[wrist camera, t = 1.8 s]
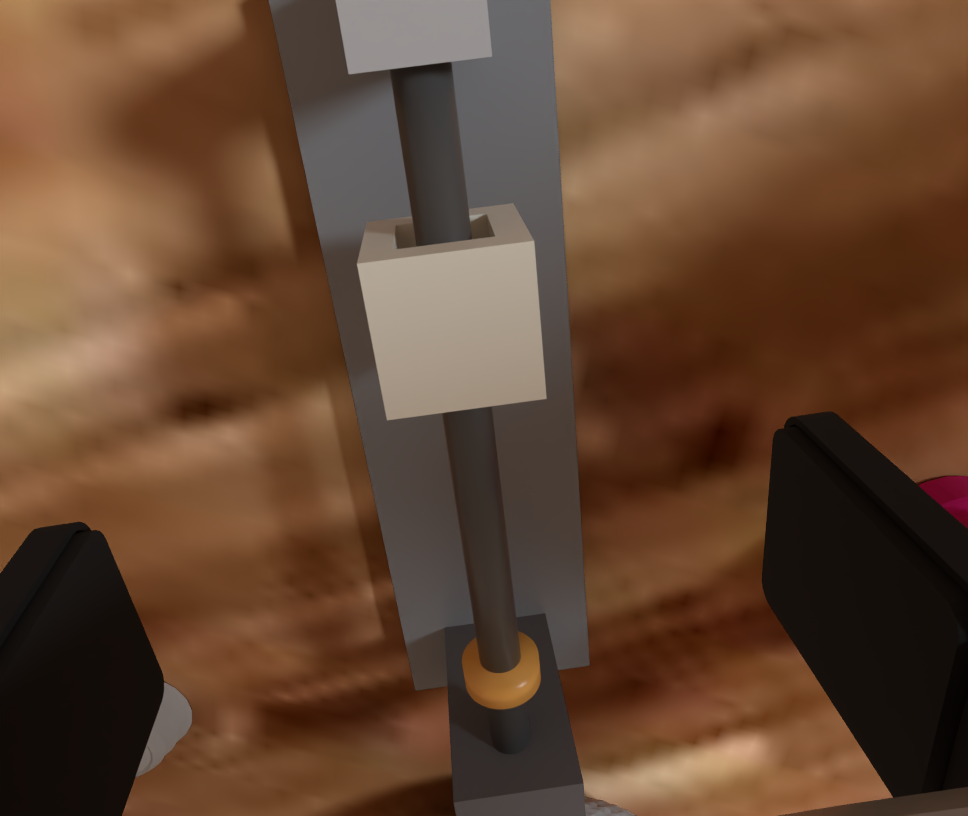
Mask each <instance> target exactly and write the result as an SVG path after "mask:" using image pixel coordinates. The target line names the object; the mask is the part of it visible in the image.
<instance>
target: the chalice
mask: <svg viewBox="0 0 968 816" xmlns="http://www.w3.org/2000/svg"><path fill="white" fill-rule="evenodd" d="M191 724H192V710H191V708H190V705H189V703H188V701H187V699H186V698H185V697H184V696H183V695H182V694H181V693H180V692H179V691H178V690H177V689H176V688H174V687H172V686H171V685H169V684H167V683H165V682H164V695H163V699H162V703H161V706H160V708H159V711H158V714H157V717H156V720H155V723H154V725H153V728H152V731H151V734H150V737H149V740H148V742H147V745H146V748H145V751H144V754H143V757H142V759H141V762H140V765H139V768H138V771H137V774H136V776H135V777H138V776H140V775H142V774H144V773H146V772H148V771H149V770H151V769H153V768H154V767H156V766H157V765H158V764H159V763H160V762H161V761H162V760H163V758H164V756H165V755H166V754H167V753H168V752H170V751H171V750H172V749H173V748H174V746H175V744H176V742H178V741H179V740H180V739H181V738H182V737H183V736H184V735H186V734H187V732H188V730H189V728H190V726H191Z"/></svg>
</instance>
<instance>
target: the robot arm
mask: <svg viewBox="0 0 968 816" xmlns="http://www.w3.org/2000/svg"><path fill="white" fill-rule="evenodd" d="M762 585H763V590H764V594H765V597H766V600H767V602H768V604H769V605H770V607H771V609H772V610H773V612H774V613H775V615H776V616H777V618H778V619H779V621H780V623H781V624H782V626H783V627H784V629H785V630H786V632H787V633H788V635H789V637H790V638H791V640H792V641H793V643H794V644H795V646H796V647H797V649H798V650H799V652H800V654H801V655H802V657H803V658H804V660H805V661H806V663H807V664H808V666H809V667H810V669H811V671H812V672H813V674H814V675H815V677H816V678H817V680H818V681H819V683H820V685H821V686H822V688H823V689H824V691H825V692H826V694H827V695H828V697H829V698H830V700H831V702H832V703H833V705H834V706H835V708H836V709H837V711H838V712H839V714H840V716H841V717H842V719H843V720H844V722H845V723H846V725H847V726H848V728H849V729H850V731H851V733H852V734H853V736H854V737H855V739H856V740H857V742H858V743H859V745H860V747H861V748H862V750H863V751H864V753H865V754H866V756H867V757H868V759H869V760H870V762H871V764H872V765H873V767H874V768H875V770H876V771H877V773H878V774H879V776H880V778H881V779H882V781H883V782H884V784H885V785H886V787H887V788H888V790H889V791H890V793H891V795H892V796H893V798H888V799H881V800H874V801H867V802H861V803H854V804H847V805H840V806H834V807H828V808H822V809H815V810H809V811H803V812H797V813H791V814H785V815H779V816H968V529H967V528H966V527H965V526H964V525H963V524H962V523H960V522H959V521H958V520H957V519H956V518H955V517H954V516H952V515H951V514H950V513H949V512H948V511H947V510H946V509H944V508H943V507H942V506H941V505H940V504H939V503H938V502H936V501H935V500H934V499H933V498H932V497H931V496H930V495H928V494H927V493H926V492H925V491H924V490H923V489H922V488H920V487H919V486H918V485H917V484H916V483H915V482H914V481H912V480H911V479H910V478H909V477H908V476H907V475H906V474H904V473H903V472H902V471H901V470H900V469H899V468H898V467H896V466H895V465H894V464H893V463H892V462H891V461H890V460H888V459H887V458H886V457H885V456H884V455H883V454H882V453H880V452H879V451H878V450H877V449H876V448H875V447H874V446H872V445H871V444H870V443H869V442H868V441H867V440H866V439H864V438H863V437H862V436H861V435H860V434H859V433H858V432H856V431H855V430H854V429H853V428H852V427H851V426H850V425H848V424H847V423H846V422H845V421H844V420H843V419H842V418H840V417H839V416H838V415H837V414H835V413H834V412H822V413H815V414H808V415H802V416H795V417H790V418H789V419H788V420H787V421H786V423H785V425H784V428H783V429H778V430H777V431H776V432H775V434H774V437H773V445H772V458H771V470H770V483H769V496H768V508H767V521H766V533H765V546H764V559H763V571H762ZM163 695H164V678H163V674H162V670H161V668H160V666H159V663H158V661H157V659H156V656H155V654H154V652H153V649H152V647H151V644H150V642H149V640H148V637H147V635H146V633H145V630H144V628H143V626H142V623H141V621H140V618H139V616H138V614H137V611H136V609H135V607H134V604H133V602H132V600H131V597H130V595H129V593H128V590H127V588H126V585H125V583H124V581H123V578H122V576H121V574H120V571H119V569H118V567H117V564H116V562H115V559H114V557H113V555H112V552H111V550H110V548H109V545H108V543H107V541H106V539H105V537H104V535H103V534H102V533H101V532H100V531H97V530H94V531H91V530H90V528H89V527H88V526H87V525H86V524H85V523H82V522H75V523H68V524H62V525H55V526H48V527H41V528H37V529H34V530H33V531H32V532H31V533H30V534H29V535H28V537H27V538H26V539H25V541H24V542H23V543H22V545H21V546H20V547H19V549H18V550H17V552H16V553H15V554H14V556H13V557H12V558H11V560H10V561H9V562H8V564H7V565H6V567H5V568H4V569H3V571H2V572H1V573H0V816H122V813H123V810H124V808H125V805H126V802H127V799H128V796H129V793H130V791H131V788H132V785H133V782H134V779H135V776H136V774H137V771H138V768H139V765H140V762H141V759H142V757H143V754H144V751H145V748H146V745H147V742H148V740H149V737H150V734H151V731H152V728H153V725H154V723H155V720H156V717H157V714H158V711H159V708H160V706H161V703H162V699H163Z"/></svg>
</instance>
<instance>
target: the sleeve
mask: <svg viewBox="0 0 968 816" xmlns="http://www.w3.org/2000/svg"><path fill="white" fill-rule="evenodd" d="M469 216H470V225H471V233H472V240H464V241H456V242H449V243H441V244H433V245H425V246H418V247H417V246H416V240H415V233H414V227H413V220H412V216H410V217H402V218H394V219H387V220H379V221H371V222H367V223H366V228H365V232H364V236H363V240H362V244H361V249H360V253H359V257H358V261H357V267H358V272H359V278H360V283H361V288H362V293H363V298H364V304H365V309H366V314H367V319H368V324H369V330H370V335H371V340H372V345H373V350H374V356H375V361H376V366H377V371H378V376H379V382H380V387H381V392H382V397H383V402H384V408H385V413H386V418H387V420H394V419H401V418H409V417H416V416H423V415H431V414H438V413H446V412H453V411H460V410H468V409H475V408H483V407H490V406H497V405H505V404H512V403H519V402H527V401H534V400H542V399H547V397H546V385H545V372H544V359H543V346H542V334H541V321H540V308H539V295H538V283H537V270H536V257H535V244H534V239H533V238H532V236H531V234H530V232H529V231H528V229H527V227H526V225H525V223H524V222H523V220H522V218H521V216H520V214H519V213H518V211H517V209H516V207H515V206H514V204H513V203H511V204H503V205H495V206H488V207H480V208H472V209H469Z"/></svg>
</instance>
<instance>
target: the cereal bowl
mask: <svg viewBox="0 0 968 816" xmlns="http://www.w3.org/2000/svg"><path fill="white" fill-rule="evenodd" d="M584 799H585V812H586V816H637V815H634V814H632V813H631V812H630V811H628V810H625V809H622V808H620V807H618V806H617V805H613V804H609V803H607V802H604V801H603V800H596V799H592V798H587V797H584Z"/></svg>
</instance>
